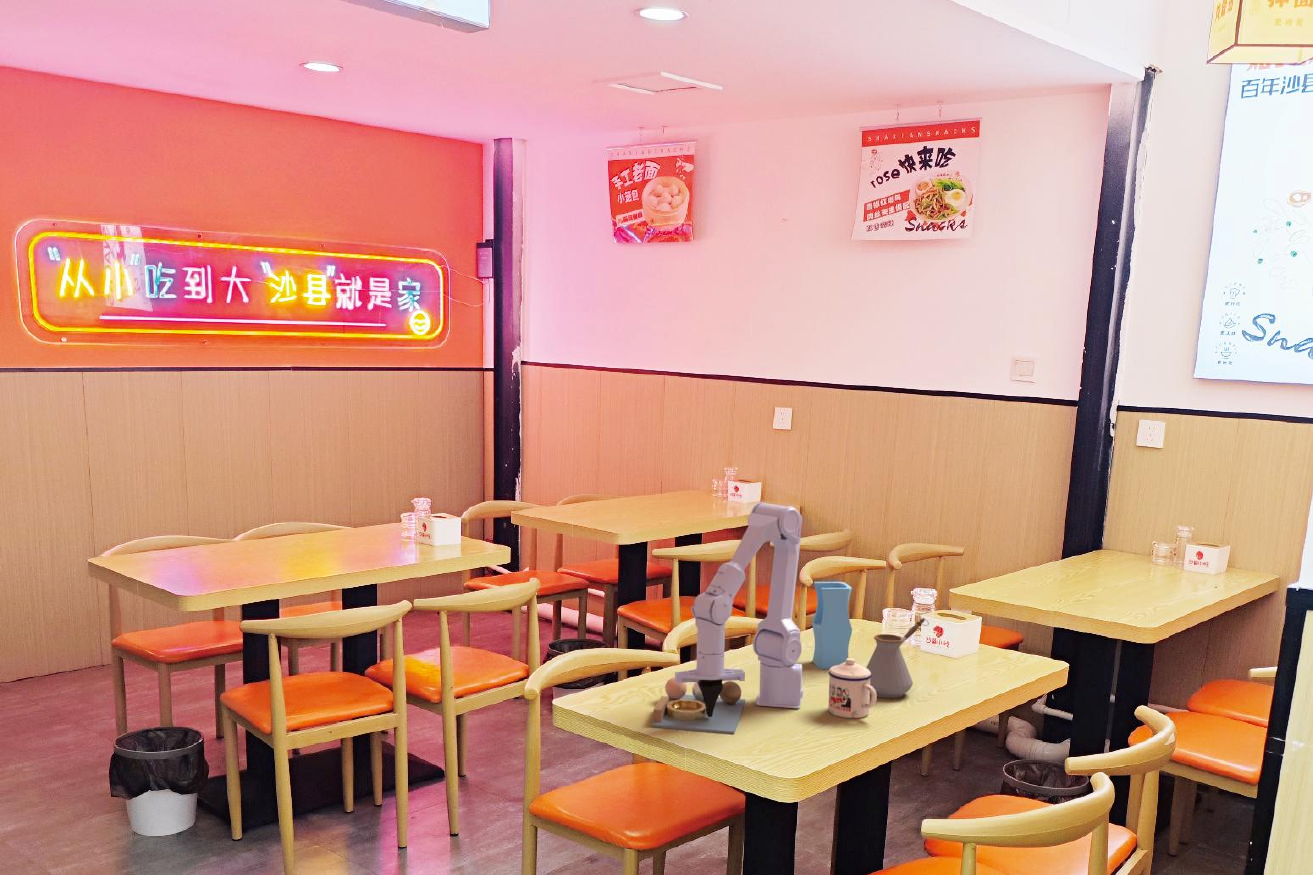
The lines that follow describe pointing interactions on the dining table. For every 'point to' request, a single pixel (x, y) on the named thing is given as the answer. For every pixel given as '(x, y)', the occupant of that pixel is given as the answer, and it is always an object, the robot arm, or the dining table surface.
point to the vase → (831, 624)
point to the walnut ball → (730, 692)
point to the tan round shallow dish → (686, 710)
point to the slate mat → (720, 721)
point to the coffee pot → (890, 665)
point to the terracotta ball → (675, 689)
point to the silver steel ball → (697, 692)
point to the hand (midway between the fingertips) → (709, 715)
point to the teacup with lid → (850, 690)
